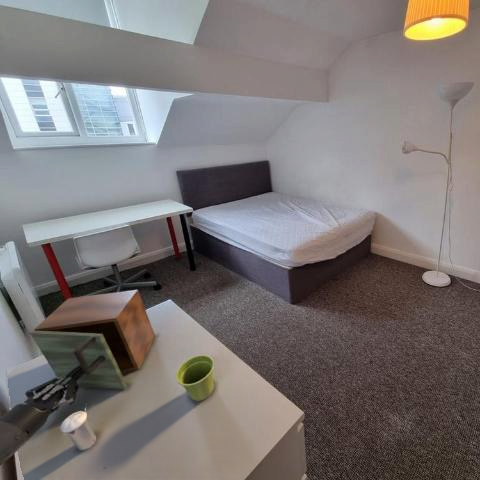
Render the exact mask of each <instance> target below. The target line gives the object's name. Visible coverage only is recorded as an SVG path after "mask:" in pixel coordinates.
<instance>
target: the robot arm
mask: <svg viewBox="0 0 480 480" xmlns="http://www.w3.org/2000/svg"><path fill="white" fill-rule="evenodd" d="M84 374H85V373H84V371H83V369H82V367H81V366H77V367H76V368H74V369H73V370H72V371H71V372H70V373H68V374H67V375H66V376H64V377H62V378H60V379H58V377H55V378H52V379H50V380H48V381H45V382H43V383H41V384H39V385H37V386H34V387H33V388H31V389H29V390H27V391H25V393H24V394H25V396H26V398H27V399H26V400H25V401H23V402H20V403H17V404H16V405H14V406H13V407H12V408H11V409H10V410H8V411H7V412H6V413H4V415H2V416H1V417H0V466H2V464H4V463H5V462H6V461H8V460H9V459H10V458H11V457H12V456H14V454H16V452H18V451H19V450H20V449H21V448H22V447H23V446H24V445H25V444H26V443H28V441H29V440H30V439H31V438H32V437H34V435H36V433H37V432H38V431H40V429H42V428H43V427H44V426H45V424H46V423H47V422H48V419H49V416H51V415H52V414H53V413H55V412H56V411H59V409H60V408H61V407H62V406H65V405H68V406H71V405H74V404H75V402H76V400H77V399H76V398H77V396H78V392H79V388H80V386H78V385H77V383H76V381H77V380H78V379H79V378H80V377H81V376H83V375H84Z"/></svg>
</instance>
